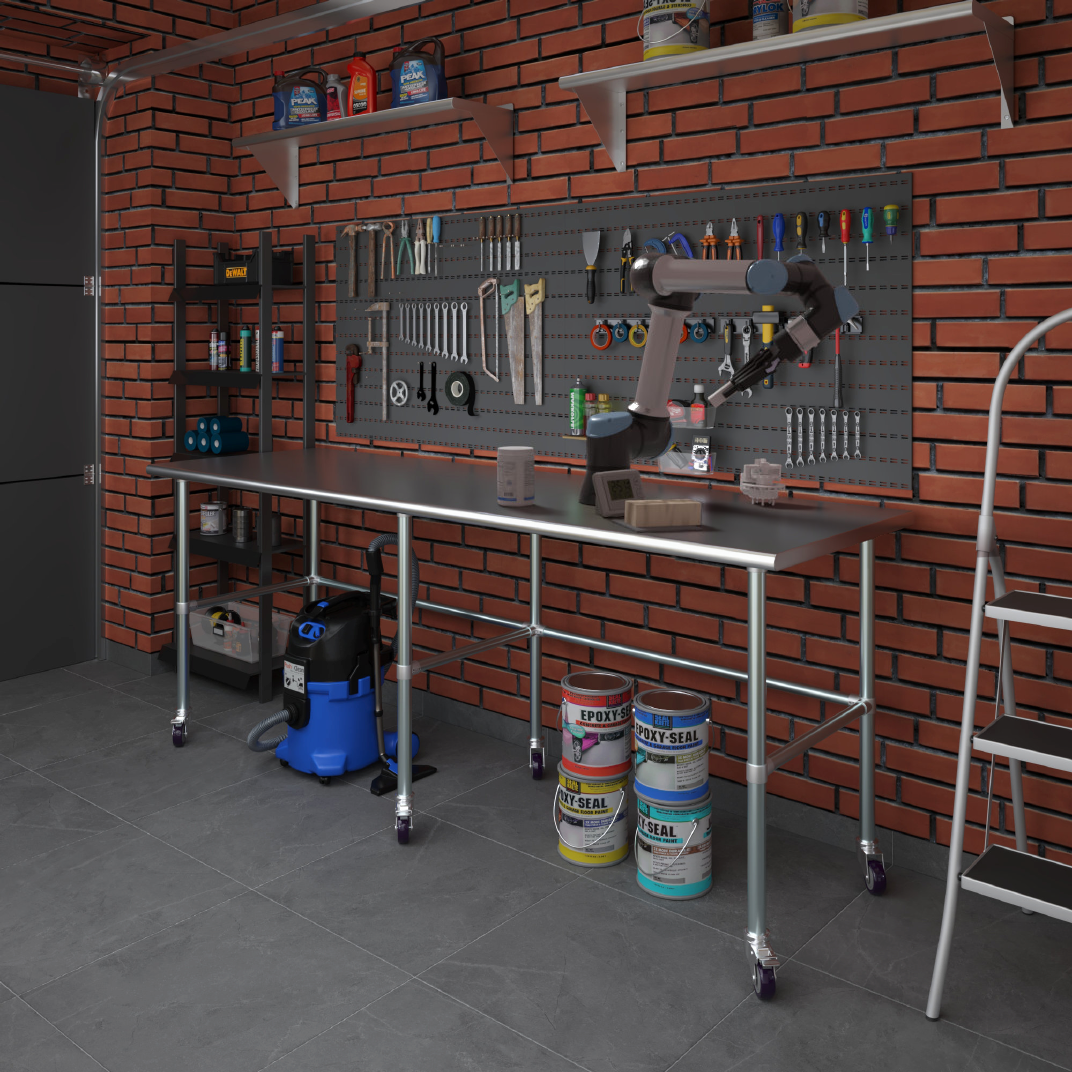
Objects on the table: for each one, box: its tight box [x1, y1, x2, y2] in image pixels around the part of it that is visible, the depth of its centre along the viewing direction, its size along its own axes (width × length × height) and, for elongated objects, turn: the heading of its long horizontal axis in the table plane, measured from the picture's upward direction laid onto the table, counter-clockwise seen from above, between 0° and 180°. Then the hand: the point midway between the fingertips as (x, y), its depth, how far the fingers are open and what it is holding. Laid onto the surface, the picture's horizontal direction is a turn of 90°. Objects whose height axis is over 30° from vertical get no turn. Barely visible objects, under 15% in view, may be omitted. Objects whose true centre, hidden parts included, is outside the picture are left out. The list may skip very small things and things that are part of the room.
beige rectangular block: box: [624, 498, 704, 527], centre depth 236 cm, size 7×5×16 cm
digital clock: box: [592, 468, 647, 518], centre depth 252 cm, size 16×9×11 cm, turn 122°
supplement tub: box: [496, 445, 536, 508], centre depth 266 cm, size 10×10×15 cm
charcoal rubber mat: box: [611, 518, 703, 533], centre depth 236 cm, size 16×16×1 cm
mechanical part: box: [739, 458, 786, 506], centre depth 274 cm, size 11×12×12 cm
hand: (711, 402), depth 246 cm, fingers closed
